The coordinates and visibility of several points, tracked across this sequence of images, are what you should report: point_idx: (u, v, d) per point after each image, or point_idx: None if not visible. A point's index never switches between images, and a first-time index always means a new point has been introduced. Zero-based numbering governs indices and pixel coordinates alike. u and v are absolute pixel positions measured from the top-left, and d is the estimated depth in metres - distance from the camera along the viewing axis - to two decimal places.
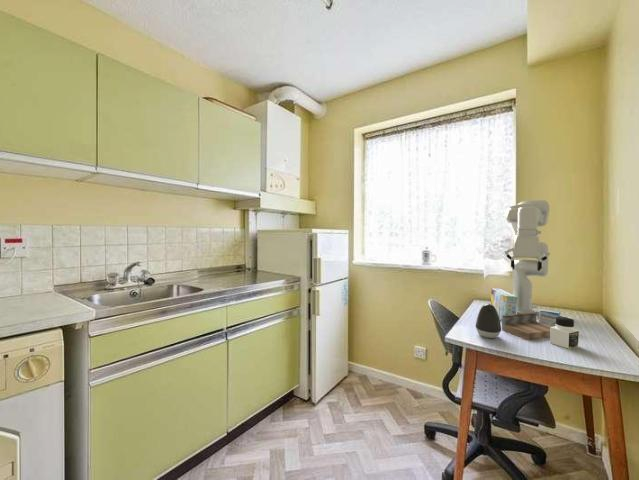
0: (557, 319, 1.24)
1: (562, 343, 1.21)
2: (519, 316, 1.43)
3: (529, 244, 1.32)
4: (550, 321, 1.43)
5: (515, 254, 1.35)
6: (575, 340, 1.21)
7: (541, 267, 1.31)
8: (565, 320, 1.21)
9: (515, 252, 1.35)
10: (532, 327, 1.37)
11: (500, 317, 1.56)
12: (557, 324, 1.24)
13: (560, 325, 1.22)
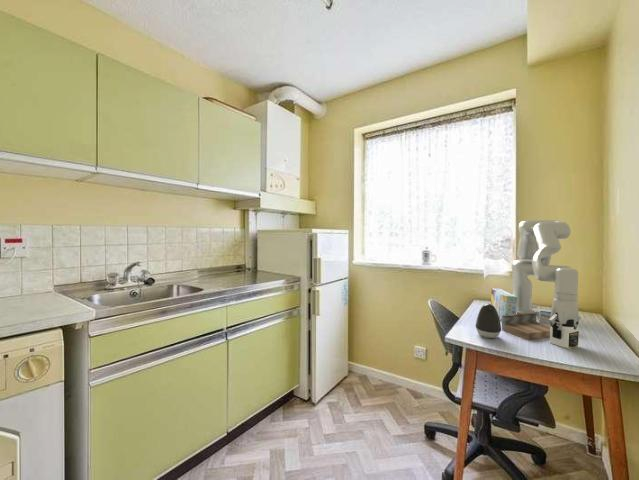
0: None
1: (562, 343, 1.21)
2: (519, 316, 1.43)
3: (572, 310, 1.21)
4: None
5: (562, 322, 1.20)
6: (575, 340, 1.21)
7: None
8: None
9: (562, 319, 1.20)
10: (532, 327, 1.37)
11: (500, 317, 1.56)
12: (557, 324, 1.24)
13: None
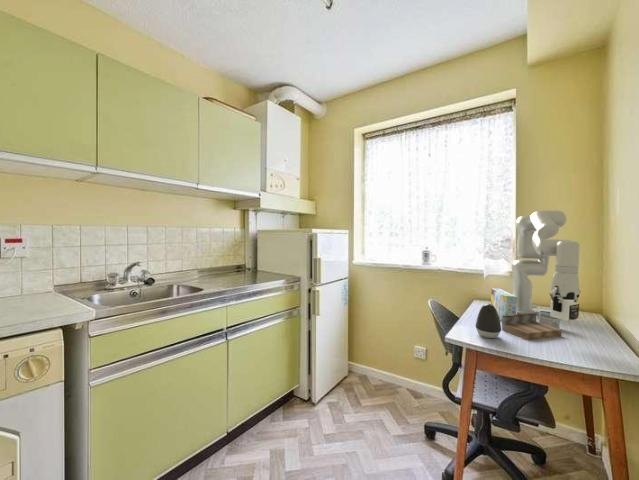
0: None
1: (562, 316, 1.21)
2: (519, 316, 1.43)
3: (573, 282, 1.21)
4: (550, 321, 1.43)
5: (562, 294, 1.20)
6: (576, 313, 1.21)
7: None
8: None
9: (563, 292, 1.20)
10: (532, 327, 1.37)
11: (500, 317, 1.56)
12: (557, 297, 1.24)
13: None
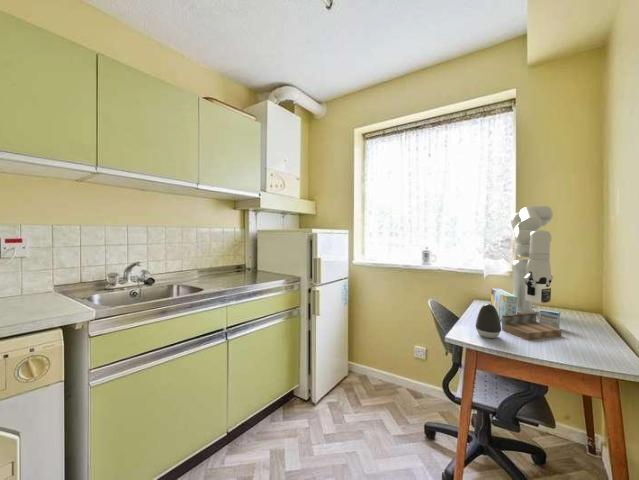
0: None
1: (535, 299, 1.32)
2: (519, 316, 1.43)
3: (545, 268, 1.32)
4: (550, 321, 1.43)
5: (535, 279, 1.31)
6: (548, 296, 1.32)
7: None
8: None
9: (535, 277, 1.31)
10: (532, 327, 1.37)
11: (500, 317, 1.56)
12: (531, 282, 1.35)
13: None
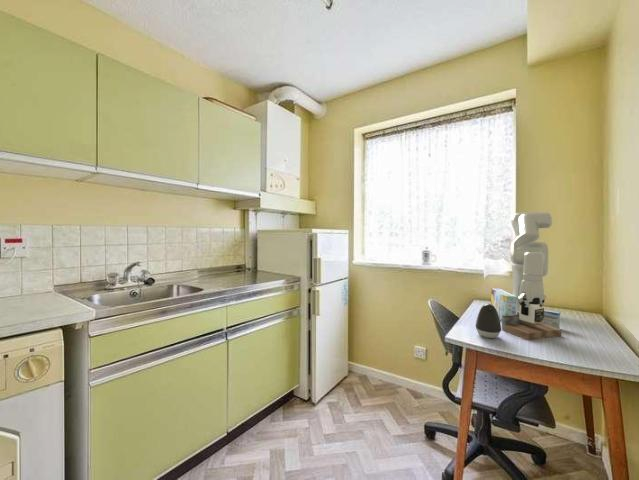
0: None
1: (529, 319, 1.36)
2: None
3: (538, 289, 1.35)
4: (550, 321, 1.43)
5: (528, 300, 1.35)
6: (541, 316, 1.35)
7: None
8: None
9: (529, 298, 1.34)
10: (532, 327, 1.37)
11: (500, 317, 1.56)
12: (525, 302, 1.38)
13: None
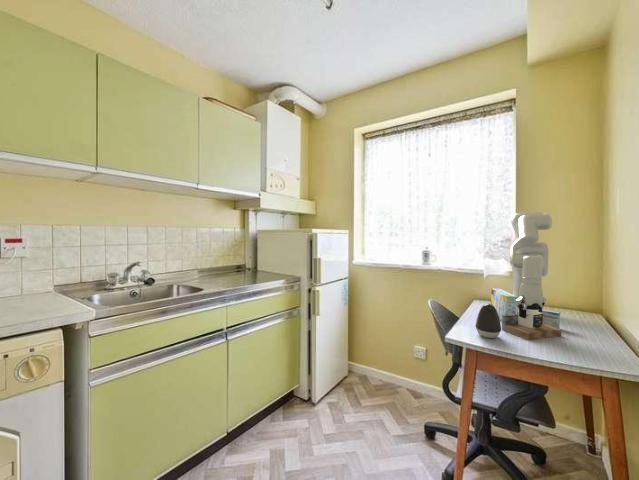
0: None
1: (527, 324, 1.36)
2: None
3: (537, 293, 1.36)
4: (550, 321, 1.43)
5: (527, 303, 1.35)
6: (539, 322, 1.36)
7: None
8: None
9: (528, 301, 1.35)
10: None
11: (500, 317, 1.56)
12: None
13: (526, 308, 1.37)
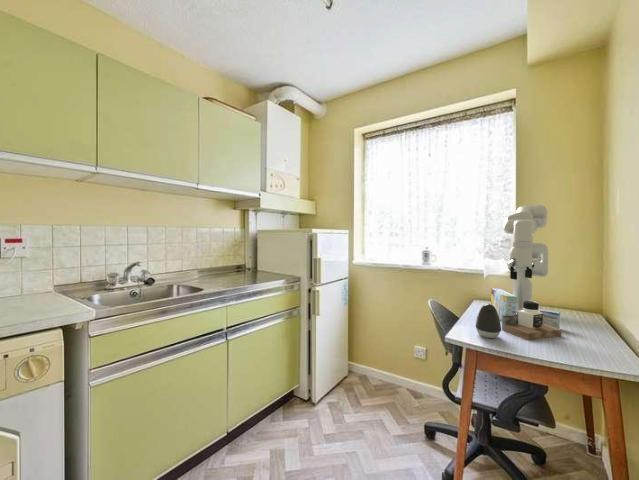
0: (524, 303, 1.38)
1: (527, 324, 1.36)
2: None
3: (527, 255, 1.42)
4: (550, 321, 1.43)
5: (518, 265, 1.42)
6: (539, 322, 1.36)
7: None
8: (530, 304, 1.36)
9: (518, 263, 1.41)
10: None
11: (500, 317, 1.56)
12: (524, 307, 1.38)
13: (526, 308, 1.37)
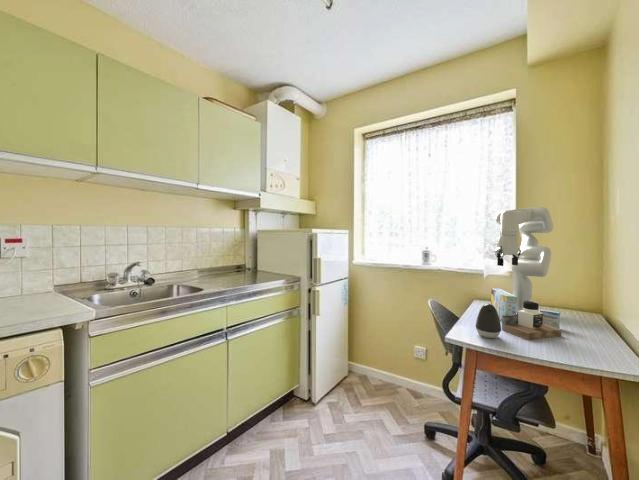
0: (524, 303, 1.38)
1: (527, 324, 1.36)
2: None
3: (513, 243, 1.52)
4: (550, 321, 1.43)
5: (504, 252, 1.51)
6: (539, 322, 1.36)
7: (517, 262, 1.55)
8: (530, 304, 1.36)
9: (505, 250, 1.51)
10: None
11: (500, 317, 1.56)
12: (524, 307, 1.38)
13: (526, 308, 1.37)
